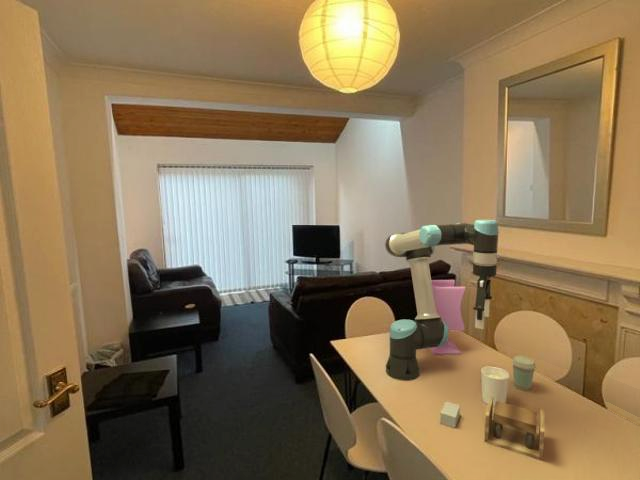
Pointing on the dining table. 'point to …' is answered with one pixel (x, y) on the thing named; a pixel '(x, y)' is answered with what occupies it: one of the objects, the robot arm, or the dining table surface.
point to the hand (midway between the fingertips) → (482, 322)
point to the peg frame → (514, 436)
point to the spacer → (450, 414)
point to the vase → (448, 311)
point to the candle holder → (494, 384)
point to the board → (515, 417)
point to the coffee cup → (523, 372)
